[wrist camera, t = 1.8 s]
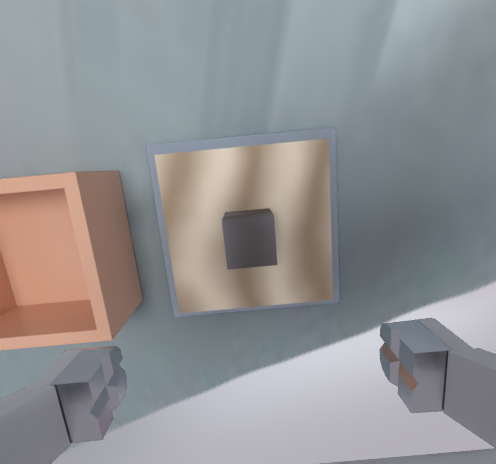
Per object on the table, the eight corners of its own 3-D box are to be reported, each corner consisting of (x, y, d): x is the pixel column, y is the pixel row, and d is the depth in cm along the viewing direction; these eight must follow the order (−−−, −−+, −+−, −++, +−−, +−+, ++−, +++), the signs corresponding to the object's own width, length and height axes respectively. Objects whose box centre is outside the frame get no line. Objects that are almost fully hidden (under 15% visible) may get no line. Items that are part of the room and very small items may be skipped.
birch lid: (324, 139, 26) (344, 133, 21) (329, 294, 29) (347, 321, 24) (158, 155, 26) (137, 152, 21) (182, 307, 29) (168, 337, 24)
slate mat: (334, 127, 26) (335, 126, 25) (337, 300, 30) (339, 302, 29) (147, 145, 26) (145, 144, 26) (174, 314, 30) (173, 317, 29)
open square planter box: (118, 170, 26) (75, 172, 20) (142, 299, 29) (112, 340, 23) (-21, 183, 27) (-112, 189, 20) (17, 311, 29) (-51, 354, 23)
